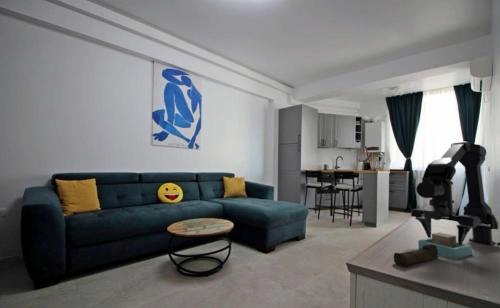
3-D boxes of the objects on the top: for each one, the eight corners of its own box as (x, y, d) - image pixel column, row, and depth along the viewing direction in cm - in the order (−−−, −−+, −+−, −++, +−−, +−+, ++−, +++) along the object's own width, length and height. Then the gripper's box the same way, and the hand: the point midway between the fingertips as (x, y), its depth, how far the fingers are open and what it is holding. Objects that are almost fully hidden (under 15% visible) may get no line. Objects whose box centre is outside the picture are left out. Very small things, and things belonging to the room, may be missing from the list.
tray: (435, 244, 88) (434, 237, 88) (472, 254, 78) (471, 245, 79) (418, 248, 84) (418, 240, 84) (455, 259, 74) (455, 249, 74)
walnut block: (440, 246, 84) (439, 232, 85) (456, 250, 80) (455, 235, 80) (432, 247, 82) (431, 233, 83) (449, 252, 78) (448, 237, 78)
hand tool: (406, 269, 66) (405, 253, 66) (393, 264, 69) (392, 248, 70) (447, 261, 72) (446, 246, 72) (433, 257, 76) (433, 243, 76)
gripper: (401, 195, 87) (403, 236, 86) (463, 201, 71) (466, 252, 69) (418, 194, 92) (420, 233, 91) (480, 199, 75) (483, 248, 74)
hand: (443, 241), depth 81 cm, fingers open, 9 cm apart
